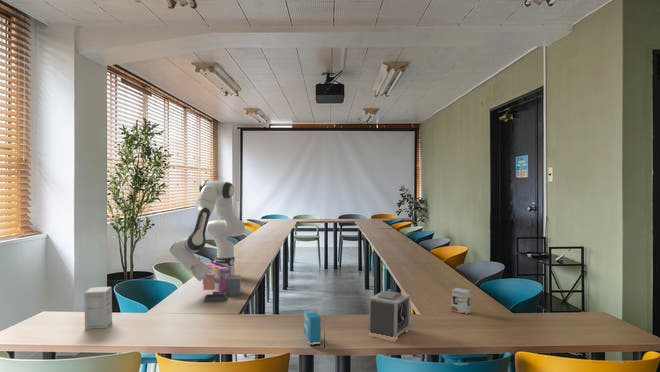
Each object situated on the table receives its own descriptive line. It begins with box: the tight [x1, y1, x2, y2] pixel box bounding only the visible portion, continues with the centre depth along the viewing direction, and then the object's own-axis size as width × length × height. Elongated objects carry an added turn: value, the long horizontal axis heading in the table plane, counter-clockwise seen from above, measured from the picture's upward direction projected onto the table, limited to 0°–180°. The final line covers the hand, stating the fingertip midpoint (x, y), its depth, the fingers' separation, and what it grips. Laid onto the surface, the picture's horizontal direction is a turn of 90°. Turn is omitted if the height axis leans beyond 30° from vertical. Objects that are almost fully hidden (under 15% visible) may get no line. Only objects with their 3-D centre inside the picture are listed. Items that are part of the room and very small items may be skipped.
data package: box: [303, 309, 322, 343], centre depth 195 cm, size 12×4×12 cm, turn 16°
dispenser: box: [212, 274, 242, 297], centre depth 269 cm, size 16×10×10 cm, turn 98°
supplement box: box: [83, 286, 113, 330], centre depth 212 cm, size 10×9×17 cm
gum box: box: [204, 261, 231, 292], centre depth 287 cm, size 24×8×14 cm, turn 42°
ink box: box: [451, 287, 472, 312], centre depth 238 cm, size 9×5×12 cm, turn 47°
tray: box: [204, 293, 227, 303], centre depth 257 cm, size 11×9×2 cm
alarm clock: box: [368, 290, 411, 337], centre depth 206 cm, size 18×13×18 cm
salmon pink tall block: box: [202, 273, 215, 291], centre depth 268 cm, size 6×3×9 cm, turn 98°
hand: (210, 280), depth 268 cm, fingers closed on salmon pink tall block, 3 cm apart
